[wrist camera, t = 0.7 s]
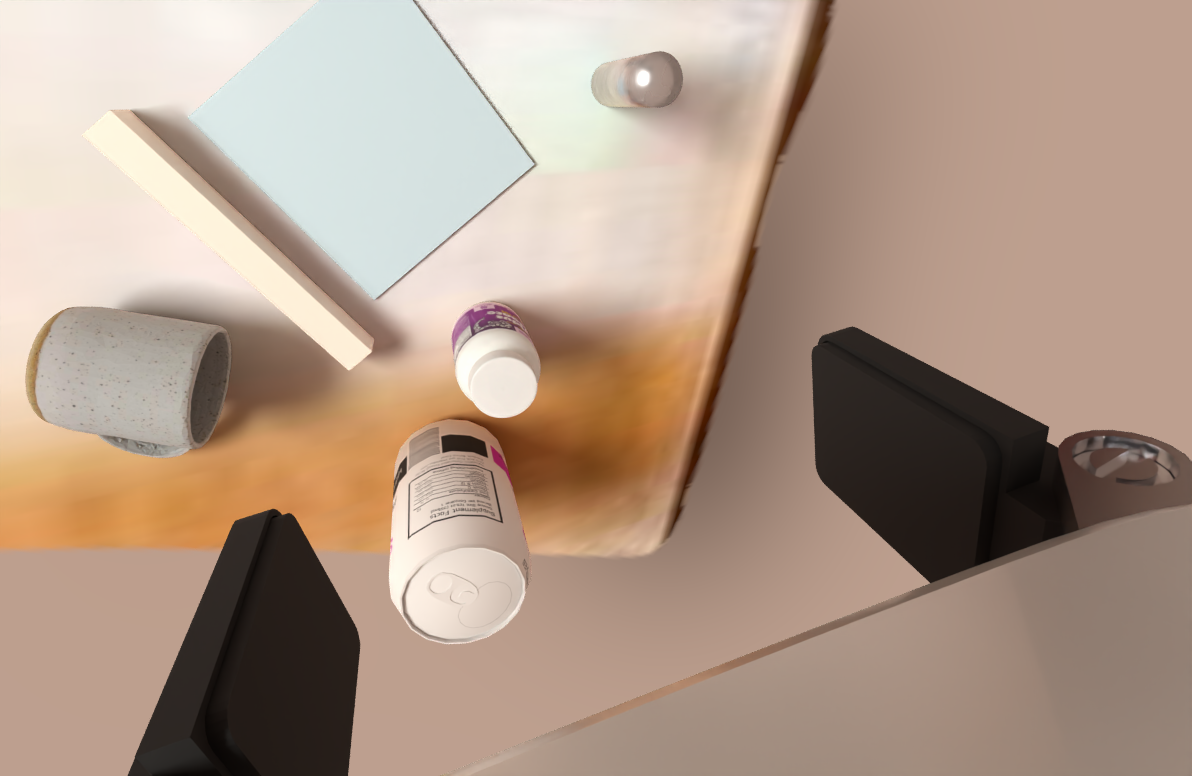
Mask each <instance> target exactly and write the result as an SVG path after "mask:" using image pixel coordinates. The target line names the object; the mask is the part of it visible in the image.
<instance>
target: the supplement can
mask: <svg viewBox="0 0 1192 776" xmlns="http://www.w3.org/2000/svg"><path fill="white" fill-rule="evenodd" d="M530 580H531V557H530V554H529V550H528V546H527V542H526V538H525V534H524V530H523V526H522V522H521V518H520V515H519V511H518V507H517V503H516V499H515V495H514V491H513V487H512V483H511V480H510V476H509V472H508V468H507V464H506V460H505V456H504V453H503V451H502V449H501V446H500V444H499V442H498V440H497V439H496V438H495V437H494V436H493V435H492V434H491V433H490V432H489V431H488V430H487V429H486V428H484V427H482V426H479V425H477V424H475V423H472V422H470V421H466V420H453V419H447V420H443V421H438V422H434V423H430V424H428V425H426V426H424V427H423V428H421V429H419V430H417V431H416V432H414V433H412V434H411V436H410V437H409V438H408V439H407V440H406V442H405V443H404V444H403V445H402V446H401V448H400V450H399V454H398V457H397V460H396V463H395V475H394V493H393V512H392V531H391V550H390V570H389V585H390V593H391V600H392V601H393V602H394V604H395V606H396V607H397V609H398V610H399V612H400V613H401V615H402V616H403V618H404V619H405V621H406V622H407V624H408V626H409V627H410V629H411V630H413V631H414V632H416V633H417V634H419V635H420V636H422V637H423V638H425V639H427V640H431V641H435V642H439V643H443V644H459V643H460V644H461V643H469V642H473V641H476V640H479V639H483V638H486V637H488V636H490V635H492V634H493V633H495V632H497V631H498V630H500V629H502V628H503V627H505V626H506V625H507V624H508V623H509V622H510V621H511V619H512V618H513V617H514V616H515V615H516V614H517V613H518V611H519V609H520V607H521V604H522V602H523V600H524V598H525V591H526V589H527V587H528V585H529V582H530Z"/></svg>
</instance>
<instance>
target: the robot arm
mask: <svg viewBox="0 0 1192 776" xmlns="http://www.w3.org/2000/svg"><path fill="white" fill-rule="evenodd" d="M812 376H813V377H812V378H813V406H814V433H815V459H816V460H815V461H816V469H817V472H818V475H819V477H820V479H821V480H822V482H823V483H824V484H825V485H826V486H827V487H828V488H829V489H830V490H831V491H833V492H834V493H835V494H836V495H837V496H838V497H839V498H840V499H841V500H842V501H843V502H844V503H845V504H847V505H848V506H849V507H850V508H851V509H852V510H853V511H854V512H855V513H856V514H857V515H858V516H859V517H860V518H861V519H863V520H864V521H865V522H866V523H867V524H868V525H869V526H870V527H871V528H872V529H873V530H874V531H875V532H876V533H878V534H879V535H880V536H881V537H882V538H883V539H884V540H885V541H886V542H887V543H888V544H889V545H890V546H891V547H893V549H895V550H896V551H897V552H898V553H899V554H900V555H901V556H902V557H903V558H904V559H905V560H906V561H908V563H910V564H911V565H912V566H913V567H914V568H915V569H916V570H917V571H918V572H919V573H920V574H921V575H923V577H925V578H926V579H927V580H928V581H929V582H930V584H928V585H925V586H923V587H920V588H917V589H915V590H912V591H910V592H907V593H904V594H902V595H899V596H897V597H894V598H891V599H889V600H886V601H884V602H881V603H878V604H876V605H873V606H871V607H868V608H865V609H863V610H860V611H858V612H855V613H852V614H850V615H847V616H845V617H842V618H839V619H837V620H834V621H832V622H829V623H826V624H824V625H821V626H819V627H816V628H813V629H811V630H808V631H806V632H803V633H801V634H798V635H796V636H794V637H790V638H788V639H785V640H783V641H781V642H778V643H775V644H772V645H770V646H767V647H765V648H762V649H760V650H757V651H755V652H752V653H750V654H747V655H744V656H742V657H739V658H737V659H734V660H732V661H729V662H726V663H724V664H721V665H719V666H716V667H714V668H711V669H708V670H706V671H703V672H701V673H698V674H696V675H694V676H691V677H688V678H686V679H683V680H680V681H678V682H675V683H673V684H670V685H668V686H665V687H663V688H660V689H658V690H655V691H652V692H650V693H647V694H645V695H642V696H640V697H637V698H635V699H632V700H630V701H627V702H624V703H622V704H619V705H617V706H614V707H612V708H609V709H607V710H604V711H602V712H599V713H597V714H594V715H592V716H589V717H587V718H584V719H582V720H579V721H577V722H574V723H572V724H569V725H567V726H564V727H562V728H559V729H557V730H554V731H551V732H549V733H546V734H544V735H541V736H539V737H536V738H534V739H532V740H529V741H526V742H524V743H521V744H519V745H516V746H514V747H512V748H509V749H506V750H504V751H501V752H499V753H496V754H494V755H491V756H489V757H486V758H484V759H481V760H479V761H476V762H474V763H471V764H469V765H466V766H464V767H461V768H459V769H456V770H454V771H451V772H449V773H446V774H444V775H441V776H1192V461H1191V460H1190V459H1189V458H1188V457H1187V456H1186V455H1185V454H1184V453H1182V452H1181V451H1179V450H1177V449H1176V448H1174V447H1173V446H1171V445H1169V444H1167V443H1164V442H1162V441H1159V440H1157V439H1154V438H1152V437H1148V436H1143V435H1140V434H1136V433H1132V432H1124V431H1115V430H1091V431H1086V432H1080V433H1076V434H1074V435H1072V436H1069V437H1067V438H1065V439H1064V440H1063V442H1062V443H1061V444H1060V445H1059V447H1055V446H1054V445H1052V444H1050V443H1048V442H1047V436H1048V430H1049V427H1048V426H1046V425H1044V424H1042V423H1040V422H1039V421H1036V420H1035V419H1033V418H1031V417H1029V416H1027V415H1025V414H1023V413H1021V412H1019V411H1017V410H1015V409H1013V408H1011V407H1009V406H1007V405H1005V404H1004V403H1002V402H1000V401H998V400H996V399H994V398H992V397H990V396H988V395H986V394H984V393H982V392H980V391H978V390H976V389H974V388H973V387H971V386H968V385H967V384H965V383H963V382H961V381H959V380H957V379H955V378H953V377H951V376H949V375H947V374H945V373H943V372H941V371H939V370H938V369H936V368H934V367H932V366H930V365H928V364H926V363H924V362H922V361H920V360H918V359H916V358H914V357H912V356H910V355H908V354H907V353H905V352H903V351H901V350H899V349H897V348H895V347H893V346H891V345H889V344H887V343H885V342H883V341H881V340H879V339H877V338H875V337H874V336H872V335H870V334H868V333H866V332H864V331H862V330H860V329H858V328H855V327H849V328H846V329H842V330H839V331H836V332H833V333H829V334H826V335H823V336H822V337H821V338H820V339H819V342H818V345H817V346H815V347H814V348H813V350H812ZM359 654H360V640H359V635H358V631H357V628H356V626H355V624H354V622H353V620H352V619H351V617H350V615H349V613H348V611H347V610H346V608H345V606H344V604H343V603H342V601H341V599H340V597H339V595H338V593H337V592H336V590H335V588H334V586H333V584H332V583H331V581H330V579H329V577H328V575H327V574H326V572H325V570H324V568H323V566H322V565H321V563H320V561H319V559H318V558H317V556H316V554H315V552H314V550H313V549H312V547H311V545H310V543H309V541H308V540H307V538H306V536H305V534H304V532H303V531H302V529H301V527H300V525H299V523H298V522H297V520H296V518H295V517H294V516H293V515H292V514H290V513H287V514H284V515H282V514H281V513H280V512H279V511H278V510H276V509H271V510H268V511H264V512H261V513H258V514H255V515H252V516H248V517H245V518H242V519H239V520H237V521H235V522H234V524H233V525H232V528H231V530H230V532H229V535H228V537H227V540H226V542H225V544H224V547H223V549H222V551H221V554H220V556H219V559H218V561H217V563H216V566H215V568H214V570H213V573H212V575H211V577H210V580H209V582H208V585H207V587H206V589H205V592H204V594H203V597H202V599H201V601H200V604H199V606H198V608H197V611H196V613H195V615H194V618H193V620H192V623H191V625H190V628H189V630H188V632H187V634H186V637H185V639H184V641H183V644H182V646H181V648H180V651H179V653H178V656H177V658H176V660H175V663H174V665H173V668H172V670H171V672H170V675H169V677H168V679H167V682H166V684H165V686H164V689H163V691H162V694H161V696H160V698H159V701H158V703H157V706H156V708H155V710H154V713H153V715H152V717H151V720H150V722H149V724H148V727H147V729H146V731H145V734H144V736H143V739H142V741H141V743H140V746H139V748H138V750H137V753H136V755H135V759H134V762H133V764H132V767H131V769H130V771H129V774H128V776H348V768H349V759H350V748H351V737H352V726H353V717H354V707H355V696H356V686H357V674H358V665H359Z"/></svg>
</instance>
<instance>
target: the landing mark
mask: <svg viewBox="0 0 1192 776" xmlns="http://www.w3.org/2000/svg"><path fill="white" fill-rule="evenodd" d="M188 119H189V120H191V121H192V122H193V123H194V124H195V125H196V126H197V127H198V128H199V129H200V130H201V131H202V132H203V133H204V134H205V135H206V136H207V137H208V138H209V139H210V140H211V141H212V142H213V143H214V144H215V145H216V146H217V147H218V148H219V149H220V150H221V151H222V152H223V153H224V154H225V155H226V156H227V157H228V158H229V159H230V160H231V161H232V162H233V163H234V164H235V165H237V166H238V167H239V168H240V169H241V170H242V171H243V172H244V173H245V174H246V175H247V176H248V177H249V178H250V179H251V180H252V181H253V182H254V183H255V184H256V185H257V186H258V187H259V188H260V189H261V190H262V191H263V192H264V193H265V194H266V195H267V196H268V197H269V198H270V199H271V200H272V201H273V202H274V203H275V204H276V205H277V206H278V207H279V208H280V209H281V210H283V211H284V212H285V213H286V214H287V215H288V216H289V217H290V218H291V219H292V220H293V221H294V222H295V223H296V224H297V225H298V226H299V227H300V228H301V229H302V230H303V231H304V232H305V233H306V234H307V235H308V236H309V237H310V238H311V239H312V240H313V241H314V242H315V243H316V244H317V245H318V246H319V247H320V248H321V249H322V250H323V251H324V252H325V253H326V254H327V255H329V256H330V257H331V258H332V259H333V260H334V261H335V262H336V263H337V264H338V265H339V266H340V267H341V268H342V269H343V270H344V271H345V272H346V273H347V274H348V275H349V276H350V277H351V278H352V279H353V280H354V281H355V282H356V283H357V284H358V285H359V286H360V287H361V288H362V289H363V290H364V291H365V292H366V293H367V294H368V295H369V296H370V297H371V298H372V299H373V300H375V299H376V298H377V297H378V296H380V295H381V294H382V293H383V292H384V291H386V290H387V289H388V288H389V287H390V286H391V285H393V284H394V283H395V282H396V281H397V280H399V279H400V278H401V277H402V276H403V275H404V274H406V273H407V272H408V271H409V270H410V269H412V268H413V267H414V266H415V265H416V264H417V263H419V262H420V261H421V260H422V259H423V258H425V257H426V256H427V255H428V254H429V253H430V252H432V251H433V250H434V249H435V248H436V247H438V246H439V245H440V244H441V243H442V242H443V241H445V240H446V239H447V238H448V237H449V236H451V235H452V234H453V233H454V232H455V231H456V230H458V229H459V228H460V227H461V226H462V225H464V224H465V223H466V222H467V221H468V220H469V219H471V218H472V217H473V216H474V215H475V214H477V213H478V212H479V211H480V210H481V209H483V208H484V207H485V206H486V205H487V204H488V203H490V202H491V201H492V200H493V199H494V198H496V197H497V196H498V195H499V194H500V193H501V192H503V191H504V190H505V189H506V188H507V187H509V186H510V185H511V184H512V183H513V182H514V181H516V180H517V179H518V178H519V177H520V176H522V175H523V174H524V173H525V172H526V171H527V170H529V169H530V168H531V167H532V166H533V165H535V164H534V163H533V162H532V160H531V159H530V158H529V156H528V155H527V153H526V152H525V151H524V149H523V148H522V147H521V145H520V144H519V143H518V141H517V140H516V139H515V137H514V136H513V135H512V133H511V132H510V131H509V129H508V128H507V127H506V125H505V124H504V123H503V121H502V120H501V119H500V117H499V116H498V114H497V113H496V112H495V110H494V109H493V108H492V106H491V105H490V104H489V102H488V101H487V100H486V98H485V97H484V96H483V94H482V93H481V92H480V90H479V89H478V88H477V86H476V85H475V84H474V82H473V81H472V80H471V78H470V77H469V75H468V74H467V73H466V71H465V70H464V69H463V67H462V66H461V65H460V63H459V62H458V61H457V59H456V58H455V57H454V55H453V54H452V53H451V51H450V50H449V49H448V47H447V46H446V45H445V43H444V42H443V41H442V39H441V38H440V36H439V35H438V34H437V32H436V31H435V30H434V28H433V27H432V26H431V24H430V23H429V22H428V20H427V19H426V18H425V16H424V15H423V14H422V12H421V11H420V10H419V8H418V7H417V6H416V4H415V3H414V2H413V0H319V1H318V2H317V3H316V4H315V5H313V6H312V7H311V8H310V9H309V10H308V11H307V12H306V13H304V14H303V15H302V16H301V17H300V18H299V19H298V20H297V21H295V22H294V23H293V24H292V25H291V26H290V27H289V28H288V29H287V30H285V31H284V32H283V33H282V34H281V35H280V36H279V37H278V38H276V39H275V40H274V41H273V42H272V43H271V44H270V45H269V46H267V47H266V48H265V49H264V50H263V51H262V52H261V53H260V54H258V55H257V56H256V57H255V58H254V59H253V60H252V61H251V62H250V63H248V64H247V65H246V66H245V67H244V68H243V69H242V70H241V71H239V72H238V73H237V74H236V75H235V76H234V77H233V78H232V79H230V80H229V81H228V82H227V83H226V84H225V85H224V86H223V87H221V88H220V89H219V90H218V91H217V92H216V93H215V94H214V95H213V96H211V97H210V98H209V99H208V100H207V101H206V102H205V103H204V104H202V105H201V106H200V107H199V108H198V109H197V110H196V111H195V112H193V113H192V114H191V115H190V116H189V117H188Z"/></svg>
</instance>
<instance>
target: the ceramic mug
mask: <svg viewBox="0 0 1192 776" xmlns="http://www.w3.org/2000/svg"><path fill="white" fill-rule="evenodd" d="M231 355H232V353H231V342H230V337H229V334H228V332H227V330H226V329H225V328H223V327H221V326H219V325H213V324H206V323H200V322H193V321H187V320H181V319H175V318H168V317H161V316H154V315H147V314H140V313H134V312H128V311H123V310H117V309H111V308H103V307H72V308H67V309H65V310H62V311H60V312H59V313H57V314H56V315H54V316H53V317H52V318H51V319H50V320H48V321H47V322H46V323H45V324H44V326H43V327H42V329H41V330H40V332H39V333H38V335H37V336H36V338H35V340H34V342H33V345H32V348H31V351H30V354H29V358H28V362H27V368H26V392H27V397H28V400H29V403H30V405H31V407H32V409H33V410H34V412H35V413H36V414H37V415H38V416H39V417H40V418H41V419H43V420H44V421H46V422H48V423H51V424H53V425H56V426H59V427H63V428H66V429H70V430H74V431H79V432H85V433H90V434H97V435H98V436H99V437H100V438H101V439H102V440H104V441H105V442H107V443H109V444H111V445H112V446H115V447H117V448H119V449H121V450H124V451H127V452H130V453H133V454H138V455H143V456H149V457H157V458H168V457H176V456H180V455H182V454H184V453H186V452H187V451H189V450H190V449H197V448H201V447H202V446H203V445H204V444H205V443H206V442H207V441H208V440H209V438H210V437H211V435H212V433H213V431H214V429H215V427H216V424H217V422H218V420H219V417H220V414H221V411H222V408H223V405H224V401H225V398H226V393H227V390H228V381H229V375H230V370H231Z"/></svg>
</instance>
